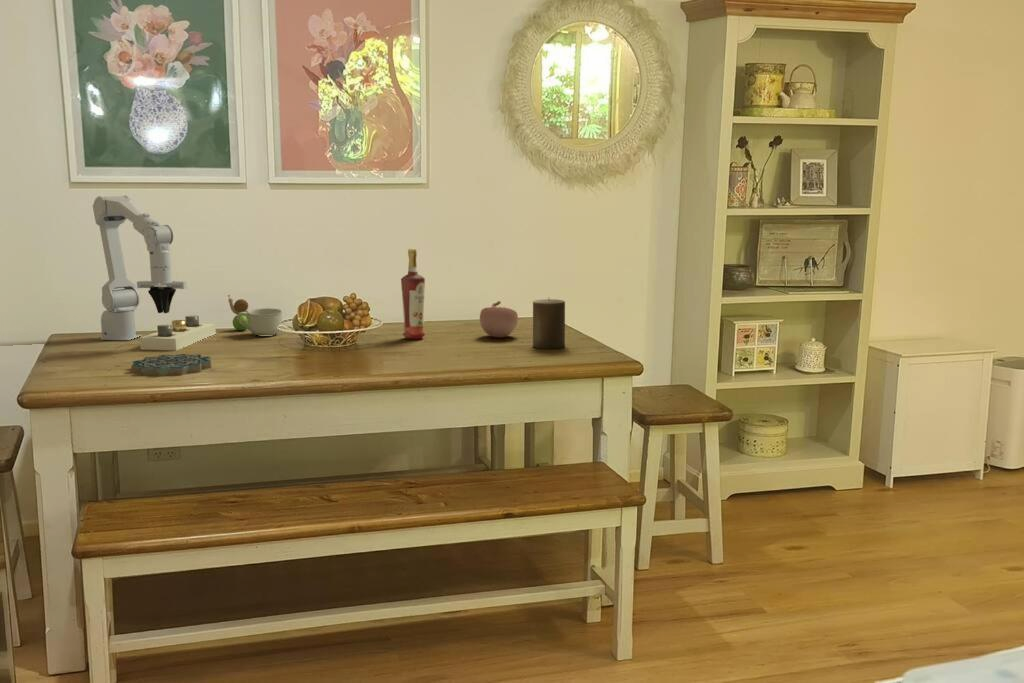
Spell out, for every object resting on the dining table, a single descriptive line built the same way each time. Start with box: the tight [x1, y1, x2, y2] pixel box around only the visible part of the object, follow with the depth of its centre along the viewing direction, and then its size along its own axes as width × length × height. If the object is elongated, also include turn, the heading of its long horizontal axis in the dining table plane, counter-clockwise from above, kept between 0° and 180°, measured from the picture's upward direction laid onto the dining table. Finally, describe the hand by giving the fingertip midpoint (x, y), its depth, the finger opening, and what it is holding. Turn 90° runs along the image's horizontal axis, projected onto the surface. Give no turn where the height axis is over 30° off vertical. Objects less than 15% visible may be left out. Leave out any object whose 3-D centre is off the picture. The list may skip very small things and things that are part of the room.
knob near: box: [157, 324, 172, 337], centre depth 285 cm, size 4×4×3 cm
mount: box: [139, 323, 217, 351], centre depth 295 cm, size 11×27×4 cm, turn 173°
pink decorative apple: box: [479, 300, 519, 339], centre depth 302 cm, size 12×12×12 cm
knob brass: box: [171, 319, 186, 332], centre depth 294 cm, size 4×4×3 cm
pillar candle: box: [532, 296, 566, 350], centre depth 287 cm, size 10×10×15 cm
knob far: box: [184, 315, 200, 327], centre depth 303 cm, size 4×4×3 cm
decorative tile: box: [131, 353, 212, 377], centre depth 257 cm, size 20×20×2 cm
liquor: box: [400, 248, 426, 341], centre depth 298 cm, size 7×7×28 cm
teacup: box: [237, 307, 283, 336], centre depth 306 cm, size 14×11×8 cm
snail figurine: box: [227, 294, 249, 331], centre depth 314 cm, size 5×6×12 cm
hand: (163, 312), depth 284 cm, fingers closed
